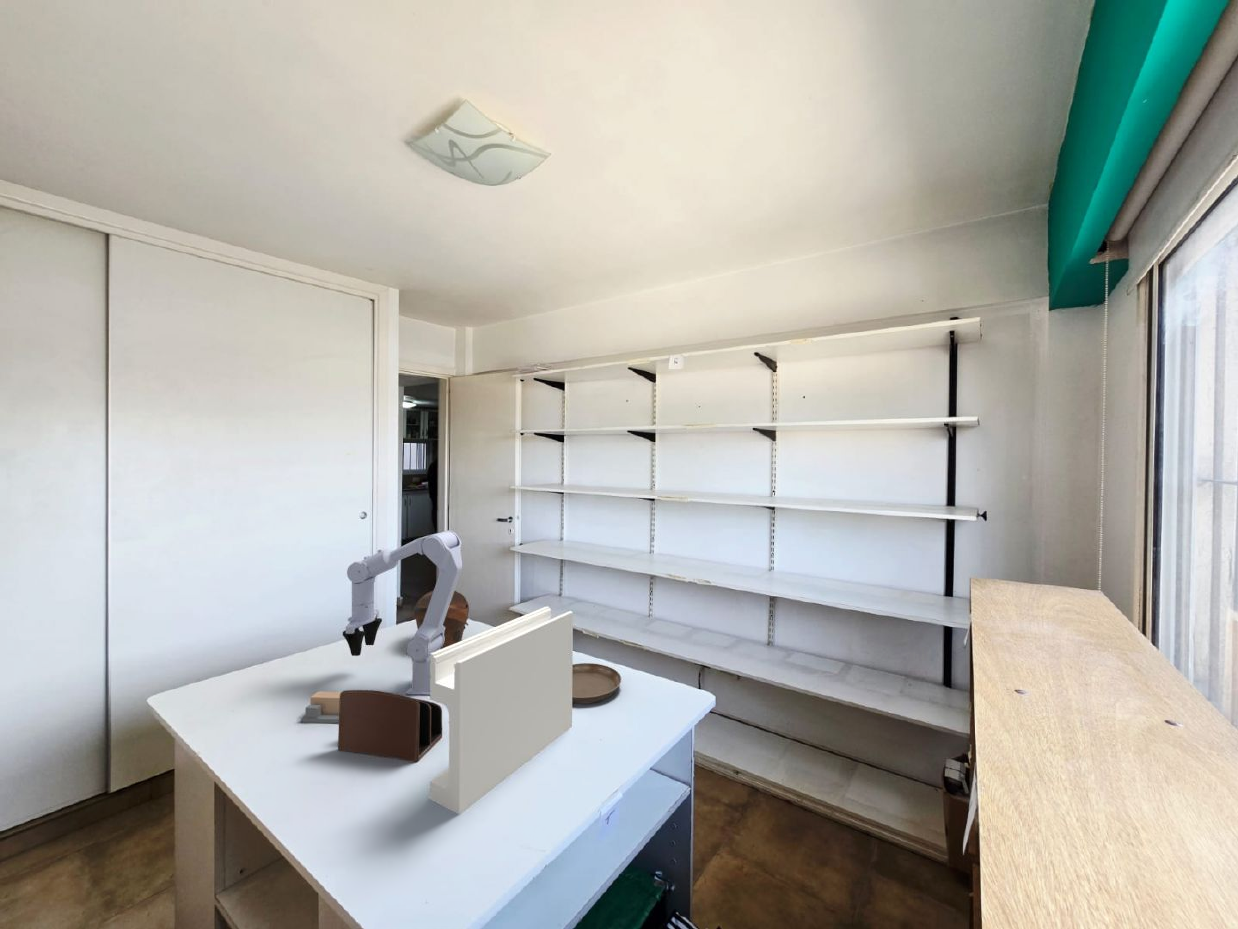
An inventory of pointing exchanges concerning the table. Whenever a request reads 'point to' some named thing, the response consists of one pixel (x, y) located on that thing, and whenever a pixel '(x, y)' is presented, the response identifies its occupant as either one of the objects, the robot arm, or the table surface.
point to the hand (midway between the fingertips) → (363, 650)
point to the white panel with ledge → (501, 701)
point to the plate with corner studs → (318, 716)
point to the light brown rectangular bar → (326, 702)
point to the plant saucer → (593, 682)
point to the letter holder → (388, 724)
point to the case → (453, 619)
